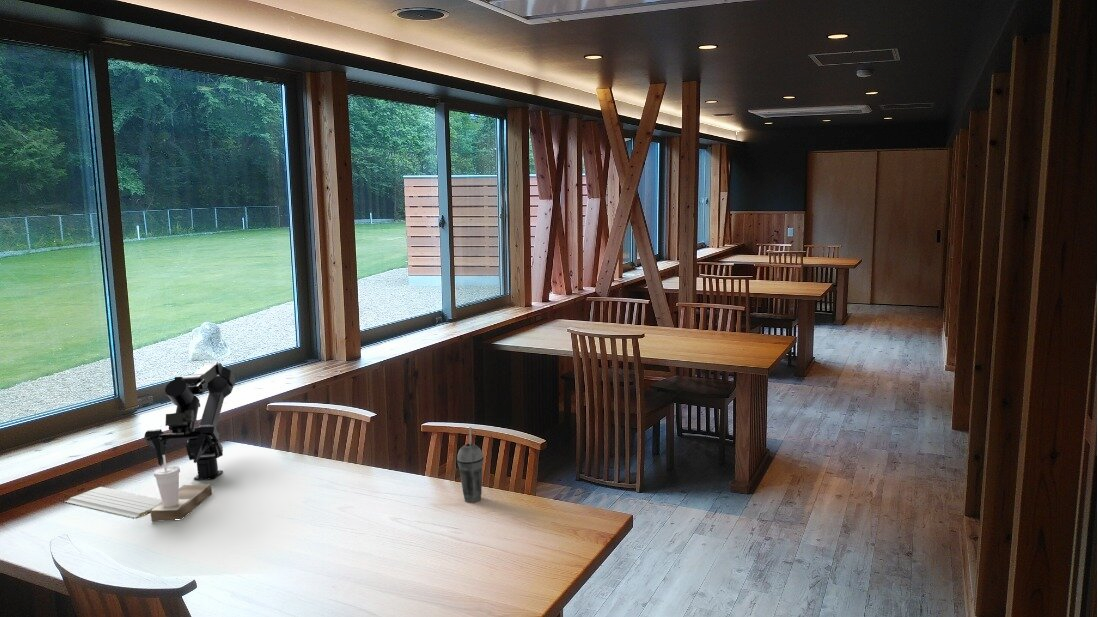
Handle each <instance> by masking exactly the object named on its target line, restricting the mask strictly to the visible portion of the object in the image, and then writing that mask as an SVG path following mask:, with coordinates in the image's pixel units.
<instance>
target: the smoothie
mask: <svg viewBox="0 0 1098 617" xmlns="http://www.w3.org/2000/svg"><path fill="white" fill-rule="evenodd" d="M166 461H167V460H166V454H165V455H163V467H160V468H157V469H156V470H154V471H153V477H155V481H156V485H157V488H158V492H159V494H160V499H162V503H163V506H164V507H172V506H175V505H177V504H178V503H179V488H180V473H181V470H180V468H181V467H179V466H176V465H169V466H167V462H166Z"/></svg>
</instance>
